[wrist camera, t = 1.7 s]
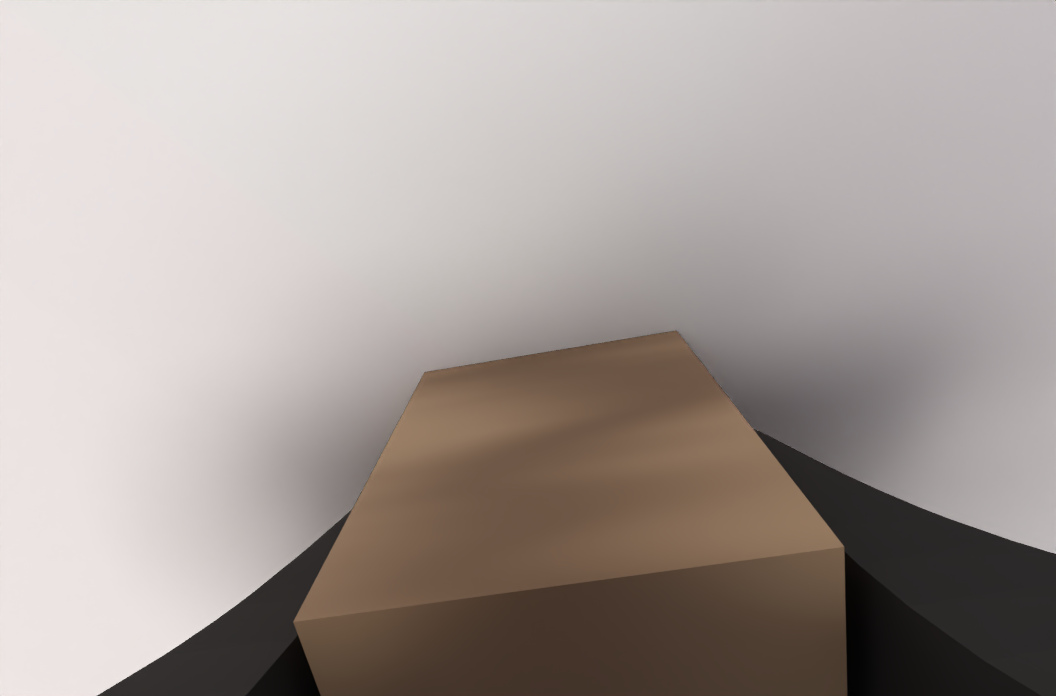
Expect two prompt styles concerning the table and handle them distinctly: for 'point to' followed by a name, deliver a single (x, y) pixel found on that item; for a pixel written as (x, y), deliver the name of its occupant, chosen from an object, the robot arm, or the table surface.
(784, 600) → the walnut block
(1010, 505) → the table surface
